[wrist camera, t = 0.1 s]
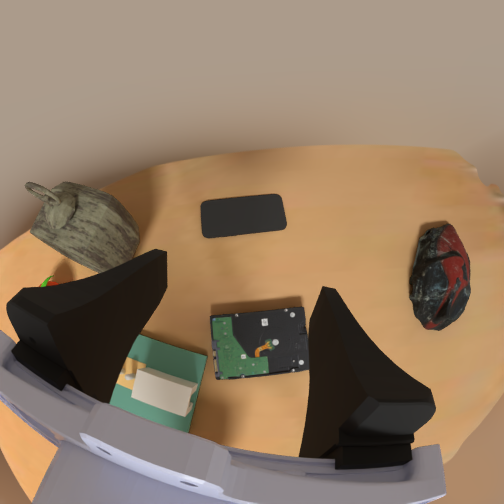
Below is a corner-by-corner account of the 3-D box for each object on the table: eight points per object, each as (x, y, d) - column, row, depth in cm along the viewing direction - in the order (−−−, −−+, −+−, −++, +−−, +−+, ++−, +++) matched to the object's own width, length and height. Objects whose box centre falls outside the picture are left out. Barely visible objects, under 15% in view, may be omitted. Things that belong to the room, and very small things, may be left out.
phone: (288, 229, 48) (202, 238, 47) (287, 230, 49) (203, 240, 47) (280, 193, 50) (200, 201, 49) (280, 195, 51) (200, 203, 50)
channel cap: (191, 409, 37) (185, 416, 32) (142, 392, 37) (131, 397, 32) (197, 383, 38) (192, 388, 33) (148, 367, 39) (137, 369, 34)
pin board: (188, 432, 36) (183, 440, 32) (90, 392, 37) (78, 394, 33) (207, 356, 41) (204, 357, 37) (106, 321, 42) (95, 318, 38)
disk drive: (300, 307, 44) (210, 317, 43) (304, 304, 42) (208, 315, 41) (308, 368, 41) (217, 379, 40) (312, 369, 38) (215, 381, 37)
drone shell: (424, 343, 42) (450, 340, 34) (384, 253, 48) (405, 238, 40) (479, 294, 45) (502, 286, 38) (445, 220, 51) (465, 204, 43)
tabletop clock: (79, 264, 45) (-8, 204, 21) (97, 223, 48) (26, 146, 24) (137, 291, 44) (50, 234, 20) (157, 244, 47) (94, 156, 23)
